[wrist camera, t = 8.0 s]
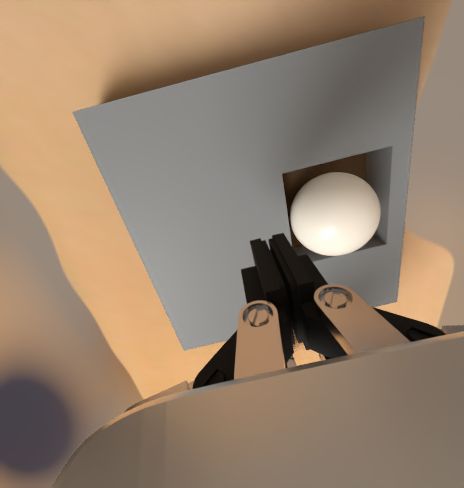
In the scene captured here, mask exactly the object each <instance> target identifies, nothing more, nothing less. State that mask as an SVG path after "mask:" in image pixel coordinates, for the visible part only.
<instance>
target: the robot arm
mask: <svg viewBox="0 0 464 488" xmlns="http://www.w3.org/2000/svg"><path fill="white" fill-rule="evenodd" d="M250 245H251V250H252V254H253V259H254V263H255V266H252V267H248V268H244V269H241V274H242V280H243V285H244V291H245V296H246V302H247V304H246V305H245V306H244V307H243V308H242V309H241V310H240V312H239V316H238V328H237V330H236V332H235V333H234V334H233V335H232V336H231V337H230V338H229V339H228V341H227V342H226V343H225V344H224V345H223V346H222V347H221V348H220V350H219V351H218V352H217V353H216V354H215V355H214V356H213V358H212V359H211V360H210V361H209V362H208V363H207V364H206V365H205V367H204V368H203V369H202V370H201V371H200V372H199V374H198V375H197V377H196V378H195V381H192V382H190V383H187V381H184V382H182V383H180V384H178V385H176V386H173V387H171V388H169V389H167V390H165V391H162V392H160V393H158V394H156V395H153V396H151V397H149V398H147V399H145V400H142V401H140V402H138V403H136V404H134V405H133V406H131V407H129V408H128V409H127V410H126V411H125V412H124V413H122V414H121V415H119V416H117V417H116V418H114V419H113V420H111V421H109V422H108V423H106V424H105V425H103V426H102V427H100V428H99V429H98V430H96V431H95V432H94V433H93V434H91V435H90V436H89V437H88V438H87V439H85V440H84V442H82V443H81V444H80V446H79V447H78V448H77V449H76V450H75V451H74V453H73V454H72V455H71V456H70V458H69V459H68V460H67V462H66V463H65V465H64V466H63V468H62V470H61V471H60V473H59V474H58V476H57V478H56V480H55V481H54V483H53V485H52V487H51V488H464V325H463V326H462V325H458V326H442V329H441V330H440V329H438V328H436V327H434V326H432V325H429V324H427V323H424V322H420V321H417V320H414V319H410V318H407V317H403V316H400V315H397V314H393V313H390V312H387V311H383V310H380V309H377V308H373V307H371V306H370V305H369V304H368V303H367V302H365V301H364V300H363V299H362V298H361V297H360V296H359V295H358V294H357V293H355V292H354V291H353V290H352V289H350V288H349V287H346V286H344V285H339V284H328V283H327V282H326V280H325V279H324V278H323V276H322V275H321V273H320V272H319V270H318V269H317V268H316V266H315V265H314V263H313V262H312V260H311V259H310V258H309V256H308V255H307V254H304V255H299V256H298V255H297V254H296V252H295V251H294V249H293V247H292V246H291V244H290V243H289V241H288V239H287V238H286V236H285V235H284V233H280V234H276V235H272V238H271V239H269V246H270V249H269V247H268V245H267V243H266V240H263V241H261V238H259V239H255V240H251V241H250ZM293 330H294V333H295V335H296V338H297V341H298V343H302V342H303V343H304V346H305V348H306V350H310V349H311V350H313V351H315V352H318V353H319V357H320V359H321V361H318V362H313V363H309V364H304V365H299V366H295V367H290V368H288V365H287V362H288V361H289V359H290V358H291V356H292V354H293V353H294V350H293V344H295V341H294V334H293Z"/></svg>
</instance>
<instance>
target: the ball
mask: <svg viewBox="0 0 464 488" xmlns="http://www.w3.org/2000/svg"><path fill="white" fill-rule="evenodd" d="M380 214H381V209H380V203H379V199H378V197H377V195H376V193H375V191H374V190H373V189H372V187H371V186H370V185H369V184H368V183H367V182H366V181H364V180H363V179H361V178H359V177H357V176H355V175H353V174H349V173H343V172H331V173H326V174H322V175H319V176H317V177H315V178H313V179H311V180H310V181H308V182H307V183H306V184H305V185H304V186H302V188H301V189H300V190H299V191H298V192H297V194H296V196H295V197H294V200H293V202H292V205H291V209H290V223H291V227H292V230H293V232H294V234H295V236H296V237H297V239H298V240H299V241H300V242H301V243H302V244H303V245H304V246H305V247H306V248H308V249H309V250H311V251H313V252H315V253H318V254H321V255H327V256H339V255H344V254H348V253H351V252H353V251H355V250H357V249H359V248H361V247H362V246H363V245H365V244H366V243H367V242H368V241H369V240H370V239H371V237H372V236H373V235H374V233H375V231H376V230H377V227H378V224H379V221H380Z"/></svg>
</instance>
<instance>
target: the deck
mask: <svg viewBox="0 0 464 488" xmlns="http://www.w3.org/2000/svg"><path fill="white" fill-rule="evenodd" d="M423 26H424V17H420V18H416V19H413V20H409V21H405V22H402V23H398V24H394V25H391V26H387V27H383V28H380V29H376V30H372V31H369V32H365V33H361V34H358V35H354V36H350V37H346V38H343V39H339V40H335V41H332V42H328V43H324V44H321V45H317V46H313V47H310V48H306V49H302V50H299V51H295V52H291V53H288V54H284V55H280V56H276V57H273V58H269V59H265V60H262V61H258V62H254V63H251V64H247V65H243V66H240V67H236V68H232V69H229V70H225V71H221V72H218V73H214V74H210V75H206V76H203V77H199V78H195V79H192V80H188V81H184V82H181V83H177V84H173V85H170V86H166V87H162V88H159V89H155V90H151V91H148V92H144V93H140V94H136V95H133V96H129V97H125V98H122V99H118V100H114V101H111V102H107V103H103V104H100V105H96V106H92V107H89V108H85V109H81V110H78V111H74V112H73V114H74V117H75V119H76V121H77V123H78V125H79V127H80V129H81V132H82V134H83V136H84V138H85V140H86V142H87V144H88V146H89V149H90V151H91V153H92V155H93V157H94V159H95V161H96V164H97V166H98V168H99V170H100V172H101V174H102V176H103V179H104V181H105V183H106V185H107V187H108V189H109V191H110V194H111V196H112V198H113V200H114V202H115V204H116V206H117V209H118V211H119V213H120V215H121V217H122V219H123V221H124V224H125V226H126V228H127V230H128V232H129V234H130V236H131V238H132V241H133V243H134V245H135V247H136V249H137V251H138V253H139V256H140V258H141V260H142V262H143V264H144V266H145V268H146V271H147V273H148V275H149V277H150V279H151V281H152V283H153V286H154V288H155V290H156V292H157V294H158V296H159V298H160V301H161V303H162V305H163V307H164V309H165V311H166V313H167V316H168V318H169V320H170V322H171V324H172V326H173V328H174V330H175V333H176V335H177V337H178V339H179V341H180V343H181V345H182V348H183V350H188V349H193V348H197V347H201V346H206V345H210V344H214V343H219V342H223V341H228V339H229V338H230V337H231V336H232V335H233V334H234V333H235V332H236V330H237V328H238V316H239V312H240V310H241V309H242V308H243V307H244V306H245V305H246V304H247V302H246V296H245V291H244V285H243V280H242V274H241V269H244V268H248V267H252V266H255V263H254V259H253V254H252V250H251V245H250V241H251V240H255V239H259V238H261V241H263V240H266V243H267V245H268V247H269V249H270V246H269V239H271V238H272V235H276V234H280V233H284V235H285V236H286V238H287V239H288V241H289V243H290V244H291V246H292V242H291V235H290V228H289V220H288V213H287V206H286V198H285V191H284V184H283V177H282V174H283V173H287V172H291V171H295V170H299V169H303V168H307V167H311V166H315V165H319V164H323V163H327V162H331V161H334V160H338V159H342V158H346V157H350V156H354V155H358V154H362V153H366V175H365V181H366V182H367V183H368V184H369V185H370V186H371V187H372V189H373V190H374V191H375V193H376V195H377V197H378V199H379V203H380V209H381V214H380V221H379V224H378V227H377V230H376V231H375V233H374V235H373V236H372V237H371V239H370V240H369V241H368V242H367V243H366V244H365V245H363V246H362V247H361V248H359V249H357V250H355V251H353V252H351V253H348V254H344V255H339V256H327V255H321V254H318V253H315V252H313V251H311V250H309V249H308V248H306V247H305V246H304V245H301V246H297V247H293V249H294V251H295V252H296V254H297V255H298V256H299V255H304V254H307V255H308V256H309V258H310V259H311V260H312V262H313V263H314V265H315V266H316V268H317V269H318V270H319V272H320V273H321V275H322V276H323V278H324V279H325V280H326V282H327V283H328V284H339V285H344V286H346V287H349V288H350V289H352V290H353V291H354V292H355V293H357V294H358V295H359V296H360V297H361V298H362V299H363V300H364V301H365V302H367V303H368V304H369V305H370V306H371V307H376V306H381V305H385V304H390V303H394V302H397V298H398V287H399V277H400V267H401V256H402V246H403V235H404V225H405V214H406V203H407V193H408V182H409V172H410V161H411V151H412V140H413V130H414V120H415V110H416V99H417V89H418V78H419V68H420V57H421V47H422V37H423Z"/></svg>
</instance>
